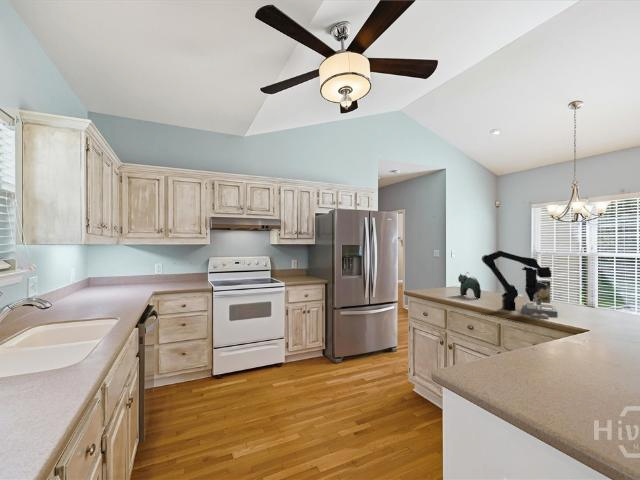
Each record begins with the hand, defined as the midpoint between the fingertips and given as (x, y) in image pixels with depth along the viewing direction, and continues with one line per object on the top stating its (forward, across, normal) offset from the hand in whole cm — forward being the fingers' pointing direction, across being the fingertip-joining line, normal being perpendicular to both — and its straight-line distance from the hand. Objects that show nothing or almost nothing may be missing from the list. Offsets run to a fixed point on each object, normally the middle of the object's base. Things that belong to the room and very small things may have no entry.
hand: (531, 301), depth 195 cm
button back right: (+3, 0, -8) cm, 8 cm away
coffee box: (+6, +30, -6) cm, 32 cm away
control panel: (+6, -4, -4) cm, 8 cm away
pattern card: (+6, -17, -4) cm, 19 cm away
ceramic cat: (+6, +32, +41) cm, 52 cm away
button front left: (+3, -8, 0) cm, 8 cm away
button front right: (+5, -8, -8) cm, 12 cm away
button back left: (+3, 0, 0) cm, 3 cm away
